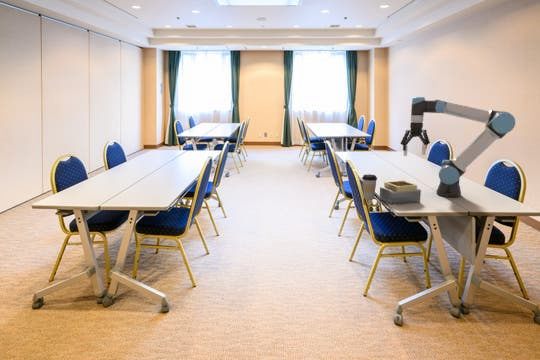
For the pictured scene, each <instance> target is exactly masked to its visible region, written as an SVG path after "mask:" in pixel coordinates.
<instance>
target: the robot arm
mask: <svg viewBox="0 0 540 360" xmlns="http://www.w3.org/2000/svg"><path fill="white" fill-rule="evenodd" d="M411 99H412V101H411V110H410V111H411V113H410V125H409V126H410V127H409V128H410V129H406V130H405V133H404V135H403V137H402V140H401V142H400V145H402V151H403V156H405V157H407V156H408V149H409V148H408V144H409V143H410V142H411V140H413V138H417V137H418V138H419V140H420V141H421V142H422V146H421V155H423V156H426V150H427V148H428V145H429V144H431V142H430V139H429V135H428V133H427V129H425V128H423V127H424V123H423V122H424V115H425V113H426V114H444V115H448V116H452V117H456V118H461V119H464V120H469V121H475V122H478V123H484V125H485V126H484V130H483V131H482V132H481V133H480V134H479V135H478V136H477V137H476V138H475V139H473V140H472V142H470V143H469V145H468V146H467V147H465V149H463V151H461V152H460V153H459V154H458V155H457V156H456V157H455V158H451V159H443V160H442V161H441V164H440V165H441V168H440V169H439V172H438V177H439V180H440V181H439V185H438V186H437V189H436V191H435V193H436V195H437V196H440V197H445V198H459V197H461V196H462V191H461V186H460V178H461V177H462V176H463V175H464V174H465V173H467V168H468V167H469V166H470V165H471V164H472V163H473V162H474V161H475V160H477V158H478V157H479V156H481V155H482V154H483V152H485V151H486V150H487V149H488V148H490V146H491V145H493V144H494V142H495V141H497V140H501V139H502V138H504V137H505V136H506V135H507V134H508V133H510V132H511V131H513V130H514V128H515V126H516V118H515V116H514V115H513V114H511V113H510V112H508V111H503V110H501V111H500V110H494V109H490V110H485V109H481V108H476V107H471V106H468V105H467V106H466V105H462V104H458V103H453V102H448V101H445V100H441V99H434V100H426V98H425V96H424V97H423V96H422V97H421V96H414V97H412V98H411Z"/></svg>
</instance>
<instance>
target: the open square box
mask: <svg viewBox="0 0 540 360" xmlns="http://www.w3.org/2000/svg"><path fill="white" fill-rule="evenodd" d="M383 182H384V183H383V184H384V186H380V187H379V197H378V198H379V199H378V200H380V201H382V202H385V203H387V204H389V205H391V206H394V204H396V205H405V204H417V203H421V195H422V190H421V189H419V188H418V185H417V184H415V183H412V182H409V181H406V180H393V181H383Z"/></svg>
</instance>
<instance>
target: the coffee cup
mask: <svg viewBox="0 0 540 360" xmlns="http://www.w3.org/2000/svg"><path fill="white" fill-rule="evenodd" d="M361 179H362V192H363V199H364V200H367V201H372V200H374V198H375V192H376V186H377V181H378V177H377V175H375V174H363V176H362V178H361Z"/></svg>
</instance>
